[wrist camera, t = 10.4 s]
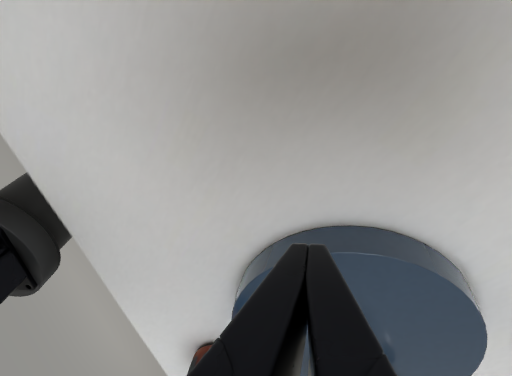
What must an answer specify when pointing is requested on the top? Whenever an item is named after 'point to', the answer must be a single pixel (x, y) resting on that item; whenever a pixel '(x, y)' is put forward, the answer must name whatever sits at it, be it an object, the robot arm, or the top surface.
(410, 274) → the plate
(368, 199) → the top surface
